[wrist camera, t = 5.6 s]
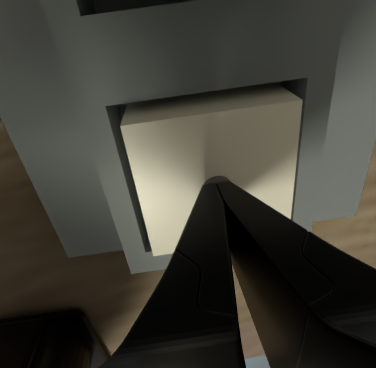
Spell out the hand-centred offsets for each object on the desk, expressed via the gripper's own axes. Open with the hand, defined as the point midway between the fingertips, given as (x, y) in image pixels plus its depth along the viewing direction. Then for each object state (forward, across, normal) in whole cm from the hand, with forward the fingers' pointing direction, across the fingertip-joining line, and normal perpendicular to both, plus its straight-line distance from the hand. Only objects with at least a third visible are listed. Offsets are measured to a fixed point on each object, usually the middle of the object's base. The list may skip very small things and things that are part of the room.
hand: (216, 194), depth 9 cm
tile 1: (+2, 0, 0) cm, 3 cm away
